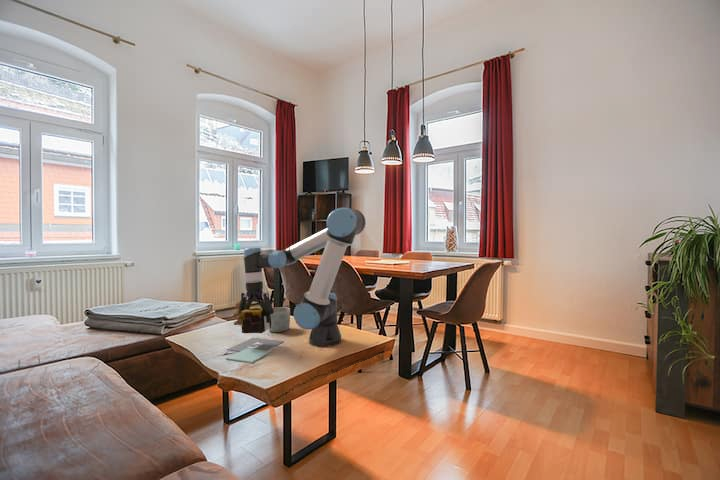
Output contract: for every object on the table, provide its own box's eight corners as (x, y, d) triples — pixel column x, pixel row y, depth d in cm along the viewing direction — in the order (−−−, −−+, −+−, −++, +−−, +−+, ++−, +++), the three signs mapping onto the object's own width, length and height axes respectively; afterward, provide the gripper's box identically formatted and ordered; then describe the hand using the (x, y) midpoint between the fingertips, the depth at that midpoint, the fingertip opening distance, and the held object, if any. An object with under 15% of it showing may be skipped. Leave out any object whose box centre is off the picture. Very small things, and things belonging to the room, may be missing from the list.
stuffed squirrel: (240, 320, 213) (239, 298, 212) (261, 320, 210) (260, 298, 209) (230, 324, 203) (229, 301, 203) (252, 325, 200) (251, 302, 199)
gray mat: (283, 341, 169) (283, 341, 169) (259, 354, 152) (259, 353, 152) (253, 338, 176) (253, 337, 176) (226, 350, 159) (226, 349, 159)
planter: (287, 333, 183) (287, 312, 182) (263, 333, 183) (263, 312, 182) (292, 326, 195) (292, 306, 195) (270, 327, 195) (269, 307, 195)
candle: (261, 333, 157) (260, 311, 157) (241, 333, 159) (239, 311, 159) (272, 327, 167) (270, 306, 167) (252, 327, 169) (251, 306, 169)
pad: (271, 352, 154) (271, 351, 154) (252, 363, 142) (251, 361, 142) (247, 349, 159) (247, 348, 159) (226, 359, 147) (226, 358, 147)
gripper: (280, 280, 162) (283, 328, 163) (239, 280, 171) (242, 325, 171) (270, 282, 155) (273, 332, 156) (228, 282, 164) (231, 330, 164)
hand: (257, 329), depth 163 cm, fingers closed on candle, 11 cm apart
